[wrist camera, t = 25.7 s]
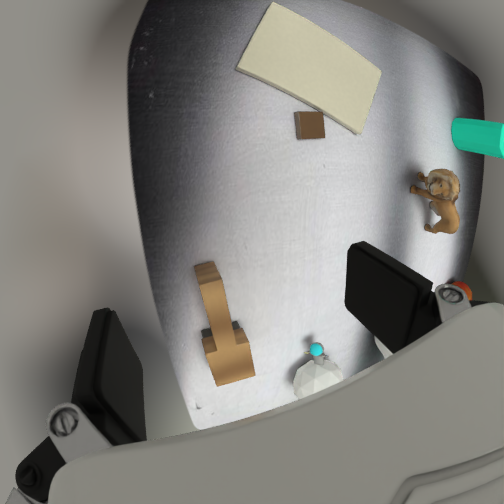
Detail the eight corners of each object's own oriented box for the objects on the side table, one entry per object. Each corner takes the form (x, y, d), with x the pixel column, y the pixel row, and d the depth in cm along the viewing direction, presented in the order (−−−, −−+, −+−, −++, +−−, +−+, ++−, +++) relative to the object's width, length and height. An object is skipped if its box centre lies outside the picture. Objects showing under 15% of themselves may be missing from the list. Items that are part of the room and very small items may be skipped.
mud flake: (294, 112, 26) (298, 111, 25) (318, 112, 27) (322, 111, 26) (296, 139, 27) (301, 139, 26) (320, 138, 28) (325, 138, 27)
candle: (450, 114, 32) (507, 120, 21) (465, 121, 34) (517, 128, 23) (451, 147, 34) (507, 158, 24) (465, 151, 36) (516, 163, 25)
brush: (181, 268, 28) (184, 288, 24) (226, 257, 30) (236, 275, 25) (210, 362, 34) (217, 386, 30) (245, 352, 35) (255, 375, 31)
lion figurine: (394, 178, 33) (445, 191, 25) (411, 152, 32) (461, 161, 24) (428, 238, 39) (467, 257, 31) (442, 215, 39) (481, 231, 31)
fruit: (433, 307, 48) (459, 325, 41) (443, 278, 46) (471, 295, 39) (448, 301, 50) (472, 317, 43) (458, 274, 48) (483, 289, 41)
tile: (234, 69, 22) (237, 66, 22) (269, 4, 20) (272, 1, 19) (356, 134, 29) (361, 134, 28) (376, 72, 26) (382, 71, 25)
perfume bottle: (286, 409, 38) (274, 358, 35) (311, 377, 44) (303, 324, 40) (330, 424, 33) (327, 372, 30) (351, 387, 39) (351, 332, 35)
